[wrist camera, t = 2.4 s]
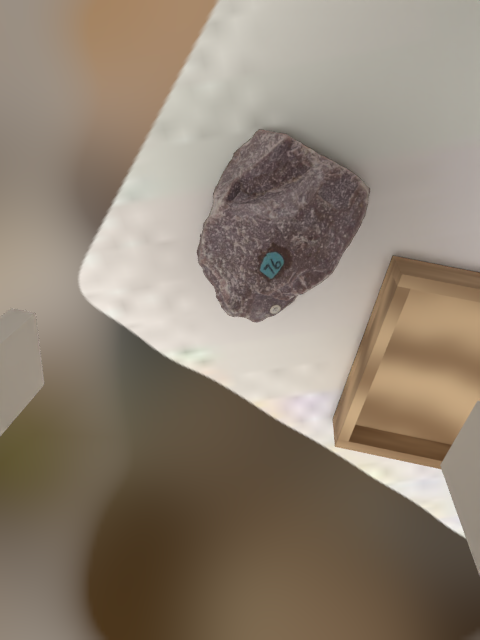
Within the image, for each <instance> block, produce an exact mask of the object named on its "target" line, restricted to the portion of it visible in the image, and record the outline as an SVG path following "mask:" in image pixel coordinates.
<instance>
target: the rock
mask: <svg viewBox="0 0 480 640" xmlns="http://www.w3.org/2000/svg"><path fill="white" fill-rule="evenodd" d="M369 193H370V188H368V187H367V186H366V185H365V183H364V182H363V181H362V180H361V179H360V178H359V177H358V176H357V175H355V174H354V173H353V172H351V171H350V170H348V169H347V168H345V167H342V166H340V165H339V164H337V163H336V162H334V161H333V160H330V159H328V158H327V157H325V156H323V155H319V154H318V153H317V152H316V151H314V150H313V149H311V148H309V147H307V146H305V145H303V144H302V143H301V142H300V141H297V140H294V139H293V138H292V137H290V136H289V135H287V134H283V133H275V132H272V131H265V130H258V131H257V132H256V133H255V134H254V135H253V137H252V138H251V139H250V140H249V141H248V142H247V143H244V144H243V145H242V146H241V147H240V148H239V149H238V150H237V151H236V152H235V153H234V155H233V158H232V160H231V161H230V162H229V164H228V165H227V167H226V169H225V170H224V172H223V174H222V176H221V178H220V180H219V183H218V184H217V186H216V188H215V191H214V193H213V206H212V209H211V212H210V214H209V217H208V218H207V219H206V221H205V222H204V224H203V231H202V234H201V235H200V237H201V238H200V244H199V246H198V250H197V255H198V263H199V264H200V266H201V267H202V269H203V273H204V274H205V276H206V277H207V279H208V280H209V281H210V283H211V284H212V285H213V286H214V288H215V292H216V298H217V299H218V301H219V302H220V305H221V307H222V308H223V310H224V311H225V312H226V313H227V314H228V315H229V316H233V317H237V316H238V317H245V318H247V319H249V320H251V321H252V322H260V321H263V320H264V319H266V318H267V317H270V316H274V315H276V314H277V313H279V312H280V311H281V310H283V309H284V308H285V307H287V306H288V305H290V304H291V303H292V302H293V301H294V300H295V299H296V297H297V296H298V295H299V294H303V293H305V292H307V291H308V290H310V289H311V288H313V287H315V286H316V285H318V284H320V283H322V282H323V281H324V280H325V279H326V278H328V277H329V276H330V275H331V274H332V273H333V271H334V269H335V268H336V266H337V264H338V262H339V260H340V258H341V256H342V254H343V253H344V251H345V250H346V248H347V247H348V246H349V245H350V243H351V241H352V239H353V237H354V236H355V234H356V232H357V231H358V229H359V227H360V225H361V223H362V220H363V218H364V217H365V214H366V210H367V205H368V197H369Z"/></svg>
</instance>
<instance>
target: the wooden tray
mask: <svg viewBox="0 0 480 640" xmlns="http://www.w3.org/2000/svg"><path fill="white" fill-rule="evenodd" d="M477 401H480V273H479V272H474V271H469V270H464V269H459V268H454V267H448V266H443V265H438V264H433V263H428V262H423V261H418V260H412V259H407V258H402V257H397V256H392V259H391V262H390V265H389V267H388V270H387V273H386V275H385V278H384V281H383V284H382V286H381V289H380V292H379V294H378V297H377V300H376V303H375V305H374V308H373V311H372V314H371V316H370V319H369V322H368V324H367V327H366V330H365V333H364V335H363V338H362V341H361V344H360V346H359V349H358V352H357V354H356V357H355V360H354V363H353V365H352V368H351V371H350V373H349V376H348V379H347V382H346V384H345V387H344V390H343V393H342V395H341V398H340V401H339V403H338V406H337V409H336V412H335V414H334V417H333V428H334V440H335V447H339V448H344V449H349V450H354V451H358V452H363V453H368V454H372V455H377V456H382V457H387V458H391V459H396V460H401V461H405V462H410V463H415V464H420V465H424V466H429V467H434V468H438V469H441V466H440V465H441V463H442V461H443V459H444V458H445V456H446V454H447V453H448V451H449V449H450V447H451V446H452V444H453V442H454V440H455V439H456V437H457V435H458V434H459V432H460V430H461V428H462V427H463V425H464V423H465V421H466V420H467V418H468V416H469V415H470V413H471V411H472V409H473V408H474V406H475V404H476V402H477Z"/></svg>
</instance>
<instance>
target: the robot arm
mask: <svg viewBox="0 0 480 640" xmlns="http://www.w3.org/2000/svg"><path fill="white" fill-rule="evenodd" d="M43 385H44V378H43V369H42V361H41V353H40V344H39V336H38V327H37V319H36V313H33V312H28V311H23V310H18V309H13V308H11V309H9V310H8V311H7V312H6V313H4V314H3V315H2V316H0V436H1V435H2V434H3V432H4V431H5V430H6V429H7V428H8V426H9V425H10V424H11V423H12V422H13V420H14V419H15V418H16V417H17V416H18V415H19V413H20V412H21V411H22V410H23V409H24V408H25V406H26V405H27V404H28V403H29V402H30V400H31V399H32V398H33V397H34V396H35V395H36V394H37V392H38V391H39V390H40V389H41V388H42V386H43ZM440 466H441V469H442V472H443V475H444V477H445V480H446V483H447V486H448V489H449V491H450V494H451V497H452V500H453V503H454V505H455V508H456V511H457V514H458V517H459V519H460V522H461V525H462V528H463V531H464V533H465V536H466V539H467V541H468V544H469V547H470V550H471V553H472V555H473V558H474V561H475V564H476V567H477V570H478V572H479V575H480V401H477V402H476V404H475V406H474V408H473V409H472V411H471V413H470V415H469V416H468V418H467V420H466V421H465V423H464V425H463V427H462V428H461V430H460V432H459V434H458V435H457V437H456V439H455V440H454V442H453V444H452V446H451V447H450V449H449V451H448V453H447V454H446V456H445V458H444V459H443V461H442V463H441V465H440Z"/></svg>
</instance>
